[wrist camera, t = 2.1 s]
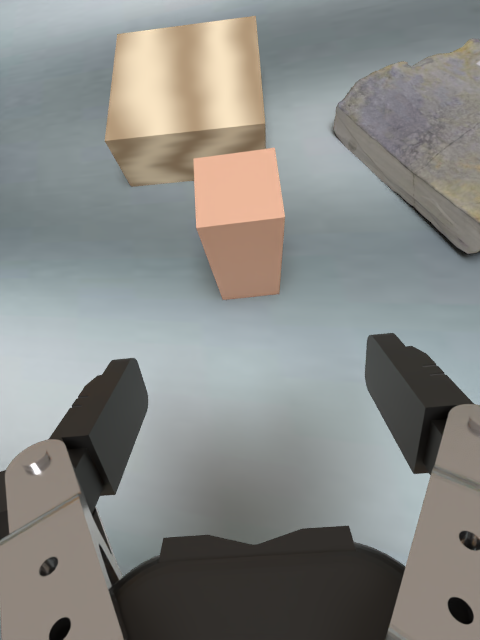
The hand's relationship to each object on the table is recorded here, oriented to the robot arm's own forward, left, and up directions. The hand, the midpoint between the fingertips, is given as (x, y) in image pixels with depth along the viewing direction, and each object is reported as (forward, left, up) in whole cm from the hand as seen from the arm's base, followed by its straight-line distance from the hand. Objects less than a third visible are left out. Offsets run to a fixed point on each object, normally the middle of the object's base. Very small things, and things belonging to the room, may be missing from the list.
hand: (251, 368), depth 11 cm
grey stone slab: (+23, +22, -16) cm, 36 cm away
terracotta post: (0, +11, -15) cm, 19 cm away
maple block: (-4, +29, -15) cm, 34 cm away
